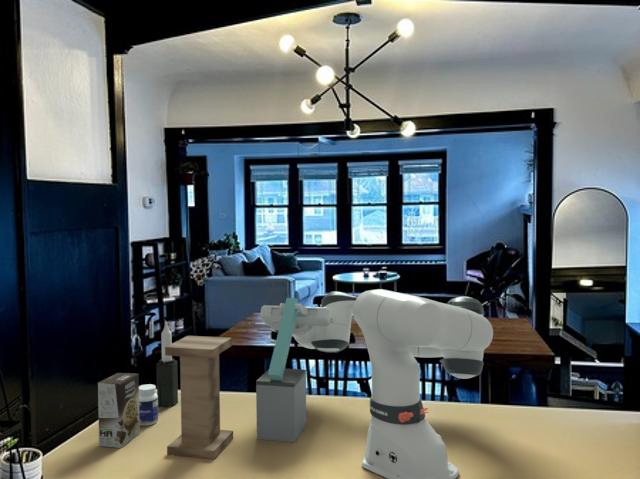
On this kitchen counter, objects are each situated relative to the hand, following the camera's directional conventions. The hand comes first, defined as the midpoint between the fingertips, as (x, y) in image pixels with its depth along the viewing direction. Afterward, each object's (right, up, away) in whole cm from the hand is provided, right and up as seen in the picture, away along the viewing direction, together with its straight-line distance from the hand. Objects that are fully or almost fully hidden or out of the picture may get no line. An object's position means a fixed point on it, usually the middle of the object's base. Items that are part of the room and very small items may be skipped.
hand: (289, 306), depth 150 cm
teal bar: (-1, -9, -4) cm, 10 cm away
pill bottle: (-39, -32, 0) cm, 51 cm away
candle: (-38, -32, +14) cm, 51 cm away
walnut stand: (-21, -33, -15) cm, 42 cm away
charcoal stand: (-2, -32, -6) cm, 33 cm away
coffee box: (-43, -33, -11) cm, 55 cm away
